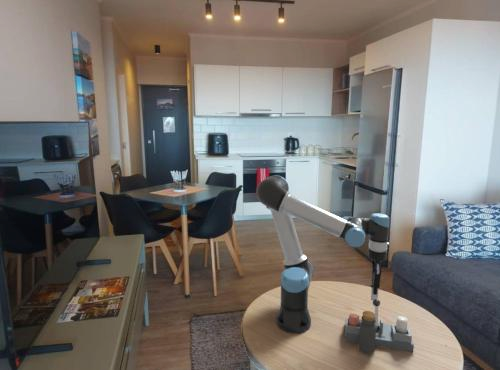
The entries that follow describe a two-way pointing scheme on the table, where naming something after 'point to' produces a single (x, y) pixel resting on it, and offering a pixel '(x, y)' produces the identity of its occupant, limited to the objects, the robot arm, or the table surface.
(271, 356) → the table surface
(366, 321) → the bottle
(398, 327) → the button ivory
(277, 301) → the table surface
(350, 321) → the button terracotta
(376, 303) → the lever
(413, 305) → the table surface
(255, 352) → the table surface
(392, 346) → the panel
